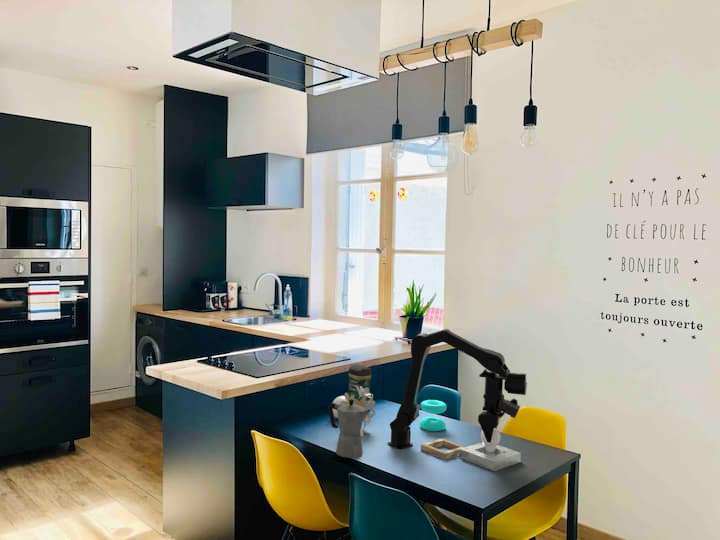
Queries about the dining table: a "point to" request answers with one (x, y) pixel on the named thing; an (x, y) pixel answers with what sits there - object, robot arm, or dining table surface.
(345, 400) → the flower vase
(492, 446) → the lightbulb
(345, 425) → the coffeepot
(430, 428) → the donuts
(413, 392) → the robot arm
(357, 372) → the coffee jar
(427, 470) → the dining table surface
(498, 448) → the socket
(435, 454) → the wooden picture frame
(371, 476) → the dining table surface
